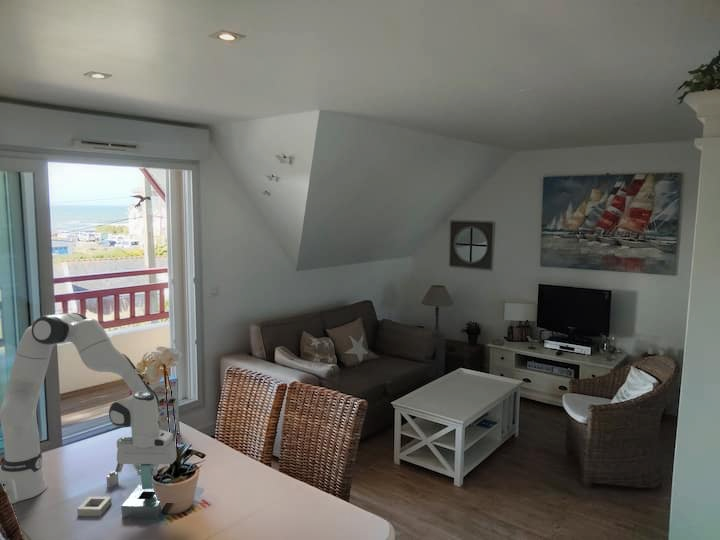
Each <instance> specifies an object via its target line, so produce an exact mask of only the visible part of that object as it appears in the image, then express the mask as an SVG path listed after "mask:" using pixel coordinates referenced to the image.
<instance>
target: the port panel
mask: <svg viewBox="0 0 720 540" xmlns="http://www.w3.org/2000/svg"><path fill="white" fill-rule="evenodd" d="M161 513H162V512H161V506H160V501H158V500H157V497H156V495H155V492H154V490H153V489H142V484H138V485H137V487H135V489H134V490H133V491H132V492H131V494H130V495H129V496H128V498H126V500H125V501H124V502H123V504H122V505H121V518H122V519H140V520H141V519H142V520H143V519H144V520H145V519H148V520H150V519H151V520H157V519H158V517H159V516H160V515H161Z"/></svg>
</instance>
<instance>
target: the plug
mask: <svg viewBox="0 0 720 540" xmlns="http://www.w3.org/2000/svg"><path fill="white" fill-rule="evenodd" d="M139 465H140V473H141V475H140V479H141V485H142V489H153V486H152V481H151V479H152V476H153V475H152V473H151V471H152V470H153V469H155V467H154V464H139Z"/></svg>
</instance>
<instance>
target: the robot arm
mask: <svg viewBox="0 0 720 540" xmlns="http://www.w3.org/2000/svg"><path fill="white" fill-rule="evenodd" d="M67 343H72V344H73V345H74V347H75V349H76V350H77V353H78V355H79V357H80V359H81V361H82V362H83V364H84V366H86V368H87V369H89V370H92V371H93V372H100V373H113V374H116V375H118V376H120V377H121V378H122V379H123V381H124V382H125V384H126V385H127V386H128V388H129V390H130V389H131V391H132V392H133V395H131V396H130V395H129V396H126V397H122V398H120V399H118V400H116V401H115V402H113V403H111V405H110V406H109V409H108V410H109V411H108V417H109V420H110V422H111V423H112V425H114V426H115V427H118V428H130V429H131V436H128V437H124V436H122V437H120V438H118V439H117V440H116V448H117V451H116V462H117V464H118V463H119V464H123V465H133V467H134V469H135V471H137V476H141V473H140V465H141V464H154V469H153V470H152V471H151V473H152V475H155V476H157V475H158V469H159V467H160V466H161V465H172V464H173V463H174V462H176V460H177V457H178V456H177V454H178V453H177V447H176V444H175V441H174V440H173V438H174V435H173V434H172V433H170V432H167V431H164V430H161V429H159V425H158V422H157V420H158V407H159V398H158V396H157V394H156V393H155V392H154V391H153V390H152V389H151V388H150V387H149V386H148V385H147V383H146V382H145V381H143V380H142V378H141V377H143V376H142V375H141V373H140V374H137V373H136V372H135V369H137V368H136V366H135V364H134V363H133V362H132V361H131V359H130V358H129V356H127V355H125V354H124V353H121V352H120V351H119V350H118V349H117V348H116V347H115V346H114V345H113V343H112V341H111V339H110V337H109V336H108V334H107V332H106V329H104V327H103V326H102V325H101V324H100V322H99V321H98V320H97V319H94V318H88V317H86V316H85V315H84V314H81V313H78V312H77V313H76V312H71V313H70V312H61V313H55V314H46V315H42V316H40V317H38V318H37V319H35V321H33V323H32V325H30V326H29V327H27V328H26V329H25V331H23V334H22V337H21V338H20V341H19V344H18V346H17V349H16V352H15V355H14V356H15V357H14V359H13V363H12V367H11V370H10V374H9V379H8V383H7V386H6V390H5V395H4V398H3V400H2V404H1V406H0V427H1V433H2V437H3V449H4V456H3V457H2V458H1V459H0V464H1V465H0V483H2V484H3V486H4V488H5V490H6V492H7V494H8V496H9V498H10V501H11V503H12V504H16V503H18V502H21V501H25V500H28V499H29V500H30V499H31V498H34V497H37V496H39V495H40V494H42V493H44V491H45V490H46V489H47V488H48V483H47V482H46V479H45V476H44V472H43V455H42V450H41V447H40V446H41V445H40V444H41V443H40V431H39V426H38V417H37V407H38V403H39V399H40V395H41V391H42V388H43V386H44V385H43V384H44V381H45V378H46V374H47V370H48V367H49V364H50V360H51V357H52V352H53V349H54V346H55V345H63V344H67ZM12 504H11V505H12Z"/></svg>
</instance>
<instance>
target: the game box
mask: <svg viewBox="0 0 720 540" xmlns="http://www.w3.org/2000/svg"><path fill="white" fill-rule="evenodd" d="M168 377H169V380H170V385H171V390H172V397H173V404H174V415H175V420H176V428H177V433H178V432H179V433H178V434H181V430H180V412H179V411H180V410H179V380H178V377H177V376H176V375H170V376H169V375H168ZM161 378H162V379H161V380H160V381H159V382H158V383H156V384H152V385H148V384H147V385H148V386H149V387H150V388H151V389H152V390H153V391H154V392H155V393H156V394H157V396H158V398H159V407H158V420H157V422H158V425H159V429H161V430H164V431H167V432H168V420H167V404H166V392H165V381H164V377H161ZM131 395H133V392H132V391H131V389H130V388H129V396H131ZM167 395H168V411H169V418H170V431H171V433H172V434H173V436H174V435H176V434H175V429H174V416H173V406H172V397H171V391H170V388H169V387H168V389H167Z"/></svg>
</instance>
